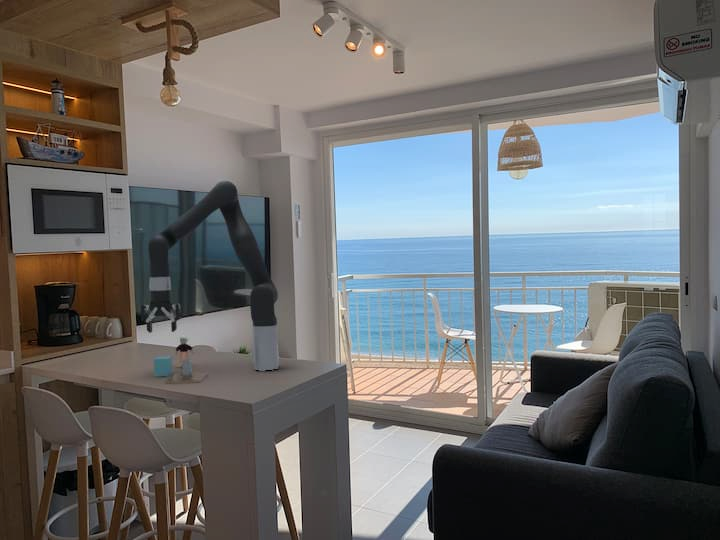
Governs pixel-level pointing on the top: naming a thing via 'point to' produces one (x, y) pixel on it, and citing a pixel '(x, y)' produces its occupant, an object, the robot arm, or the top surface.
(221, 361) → the top surface
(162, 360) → the turquoise rectangular block
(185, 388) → the top surface
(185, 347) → the grandmother figurine
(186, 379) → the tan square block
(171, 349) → the top surface
